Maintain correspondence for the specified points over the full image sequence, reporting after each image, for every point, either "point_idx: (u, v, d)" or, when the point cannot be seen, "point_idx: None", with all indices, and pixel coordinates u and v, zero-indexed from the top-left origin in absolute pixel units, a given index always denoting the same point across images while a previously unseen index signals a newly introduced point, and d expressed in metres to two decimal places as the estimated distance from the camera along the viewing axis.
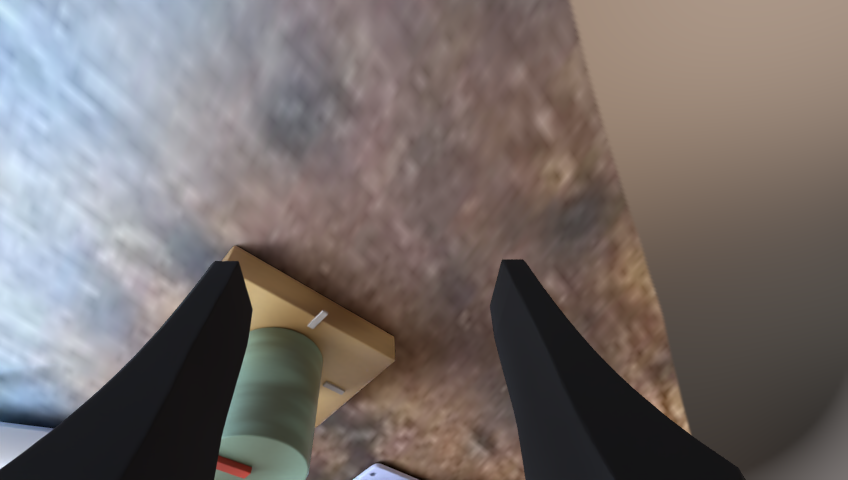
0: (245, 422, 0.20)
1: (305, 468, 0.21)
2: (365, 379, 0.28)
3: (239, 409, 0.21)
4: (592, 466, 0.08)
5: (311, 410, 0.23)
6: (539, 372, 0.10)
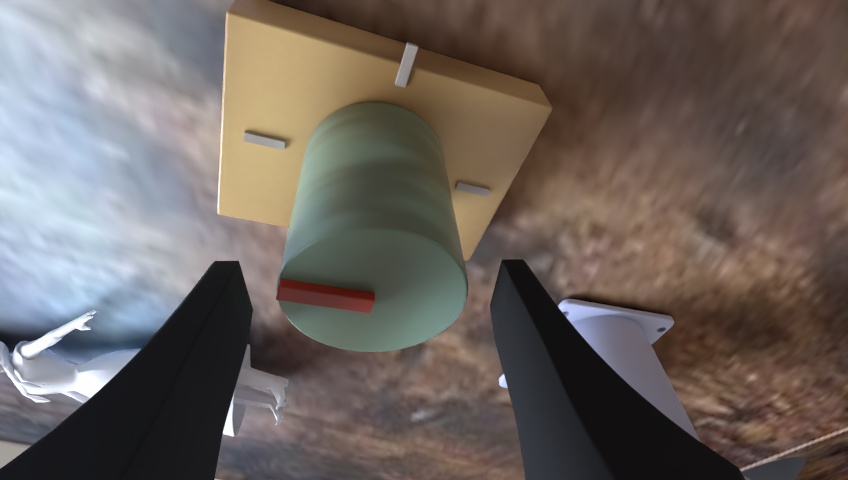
0: (332, 218, 0.11)
1: (459, 274, 0.12)
2: (514, 159, 0.18)
3: (319, 206, 0.12)
4: (592, 466, 0.08)
5: (441, 195, 0.13)
6: (540, 372, 0.10)
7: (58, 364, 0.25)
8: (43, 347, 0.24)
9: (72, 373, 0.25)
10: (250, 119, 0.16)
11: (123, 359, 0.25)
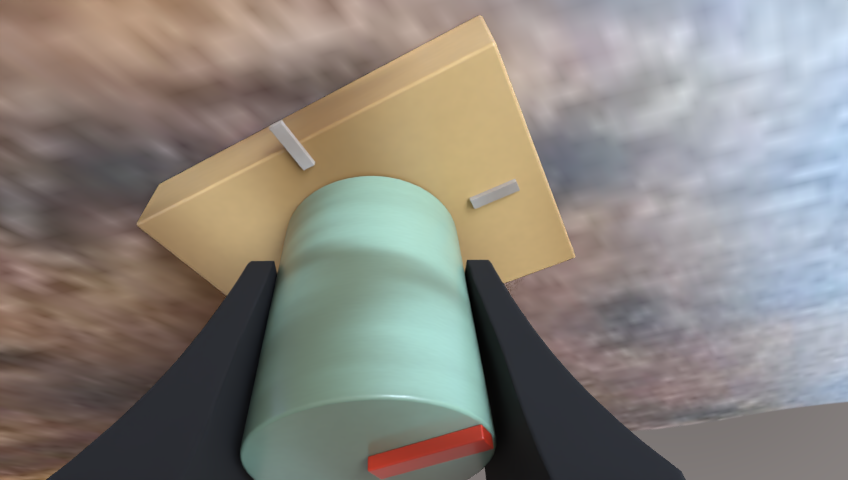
0: None
1: None
2: None
3: None
4: (536, 469, 0.08)
5: None
6: (497, 374, 0.10)
7: None
8: None
9: None
10: (519, 200, 0.14)
11: None
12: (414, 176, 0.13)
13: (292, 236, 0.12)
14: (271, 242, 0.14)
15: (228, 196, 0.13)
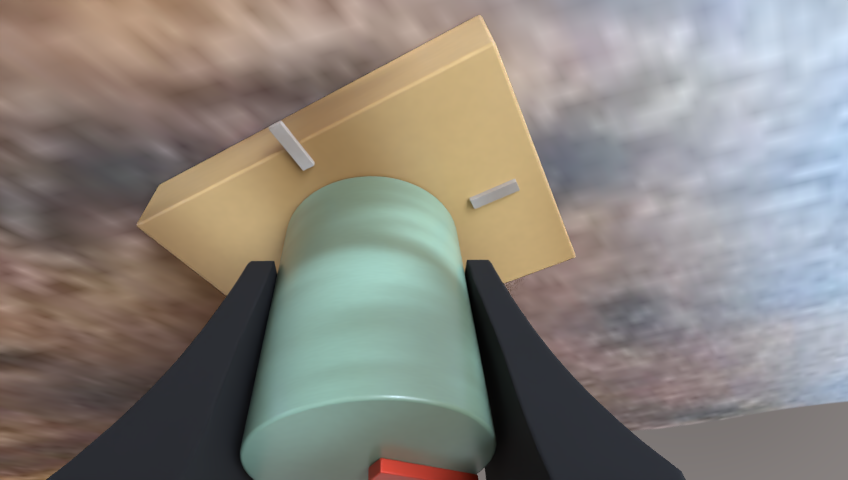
0: None
1: (254, 475, 0.10)
2: None
3: None
4: (536, 469, 0.08)
5: None
6: (497, 374, 0.10)
7: None
8: None
9: None
10: (519, 200, 0.14)
11: None
12: (414, 176, 0.13)
13: (381, 205, 0.12)
14: (272, 242, 0.14)
15: (228, 197, 0.13)
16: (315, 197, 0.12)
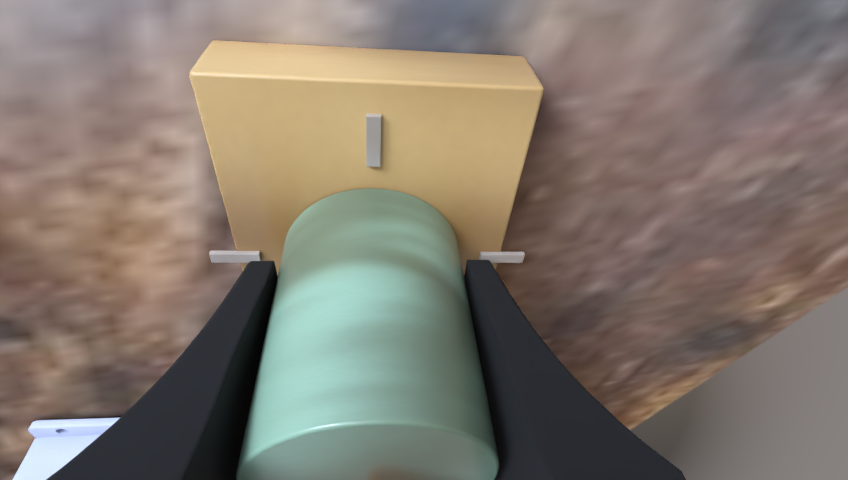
0: None
1: None
2: None
3: None
4: (536, 469, 0.08)
5: None
6: (497, 373, 0.10)
7: None
8: None
9: None
10: (400, 119, 0.11)
11: None
12: (312, 194, 0.12)
13: (381, 219, 0.11)
14: None
15: None
16: (313, 210, 0.12)
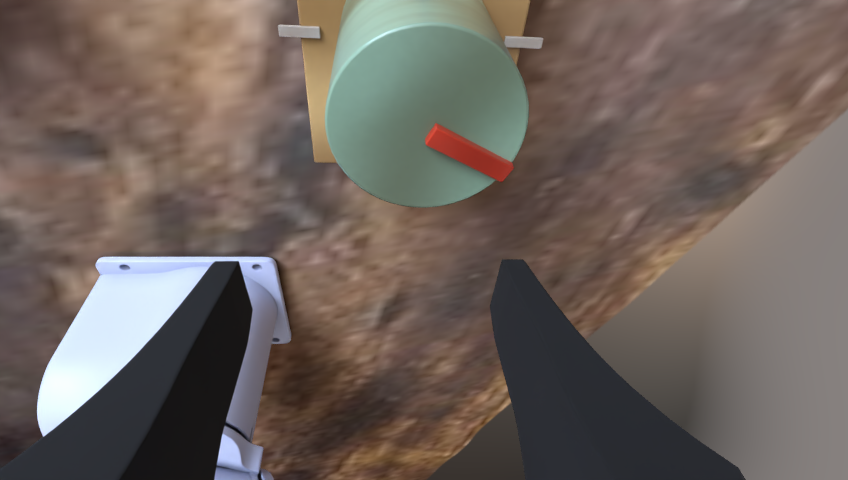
0: None
1: (333, 142, 0.12)
2: None
3: None
4: (592, 466, 0.08)
5: None
6: (539, 372, 0.10)
7: None
8: None
9: None
10: None
11: None
12: None
13: None
14: None
15: (319, 99, 0.18)
16: None
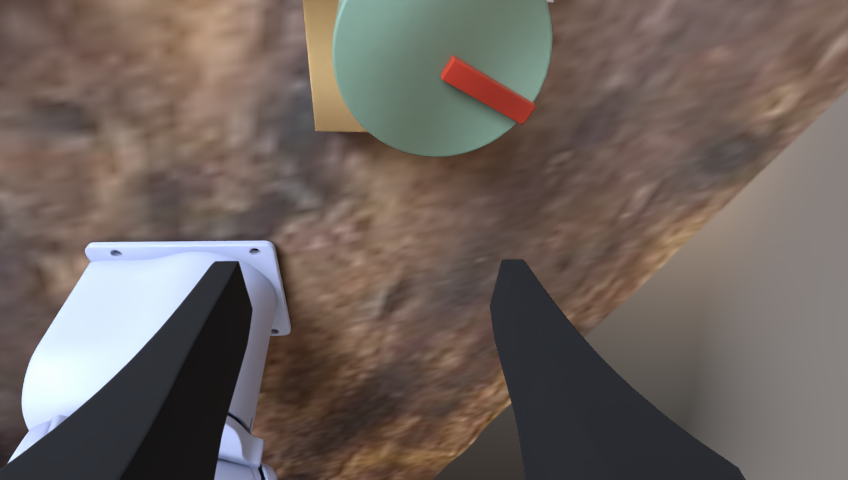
0: None
1: (341, 79, 0.11)
2: None
3: None
4: (592, 466, 0.08)
5: None
6: (539, 372, 0.10)
7: None
8: None
9: None
10: None
11: None
12: None
13: None
14: None
15: (321, 60, 0.17)
16: None
